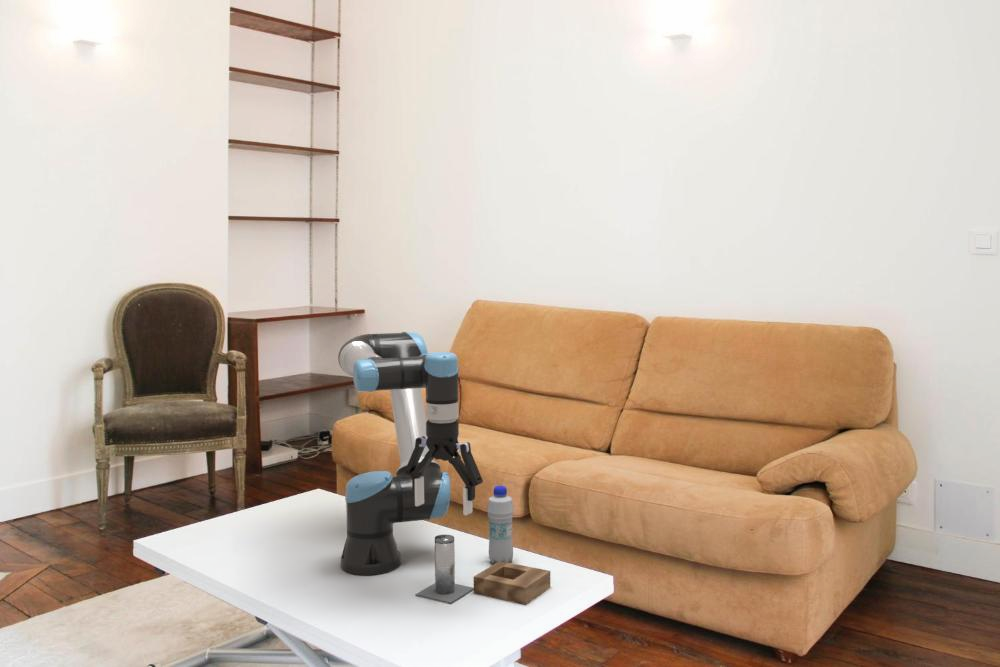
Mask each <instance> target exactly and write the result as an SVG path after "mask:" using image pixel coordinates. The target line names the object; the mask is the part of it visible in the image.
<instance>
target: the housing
mask: <svg viewBox="0 0 1000 667" xmlns="http://www.w3.org/2000/svg"><path fill="white" fill-rule="evenodd" d="M473 588H474V590H473V594H477V595H481V596H484V597H485V596H486V597H490V598H493V599H499V600H502V601H507V602H512V603H517V604H521V605H525V606H526V605H528V604H529V603H530V602H532V601H533V600H535V599H536V598H538V597H539V596H540V595H542V594H543V593H544V592H546V591H547V590H549V589H550V588H551V570H547V569H542V568H538V567H532V566H526V565H522V564H518V563H512V562H510V563H508V562H504V561H499V562H497V561H496V563H495V564H491V565H490V566H489V567H487V568H486V569H484V570H482V571H480V572H479V573H477V574H476V575H474V576H473ZM548 588H549V589H548ZM545 590H546V591H545Z"/></svg>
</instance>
